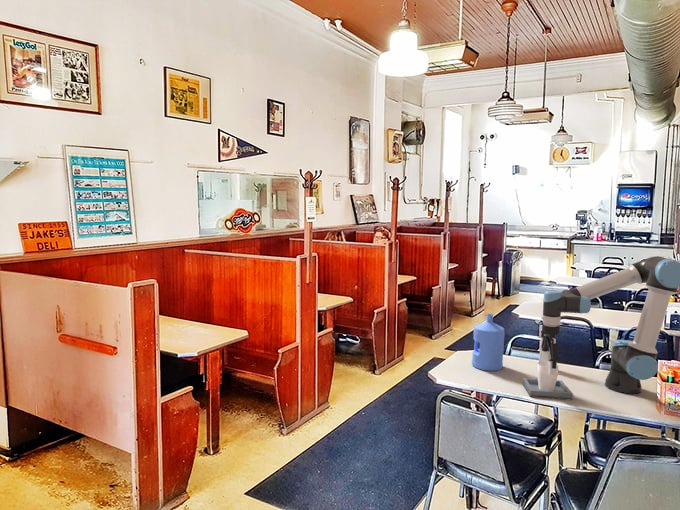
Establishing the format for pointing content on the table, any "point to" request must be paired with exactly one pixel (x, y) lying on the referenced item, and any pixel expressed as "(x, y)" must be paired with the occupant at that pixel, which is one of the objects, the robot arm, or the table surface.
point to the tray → (534, 391)
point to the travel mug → (541, 349)
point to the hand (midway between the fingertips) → (548, 369)
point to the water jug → (488, 345)
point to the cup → (546, 376)
